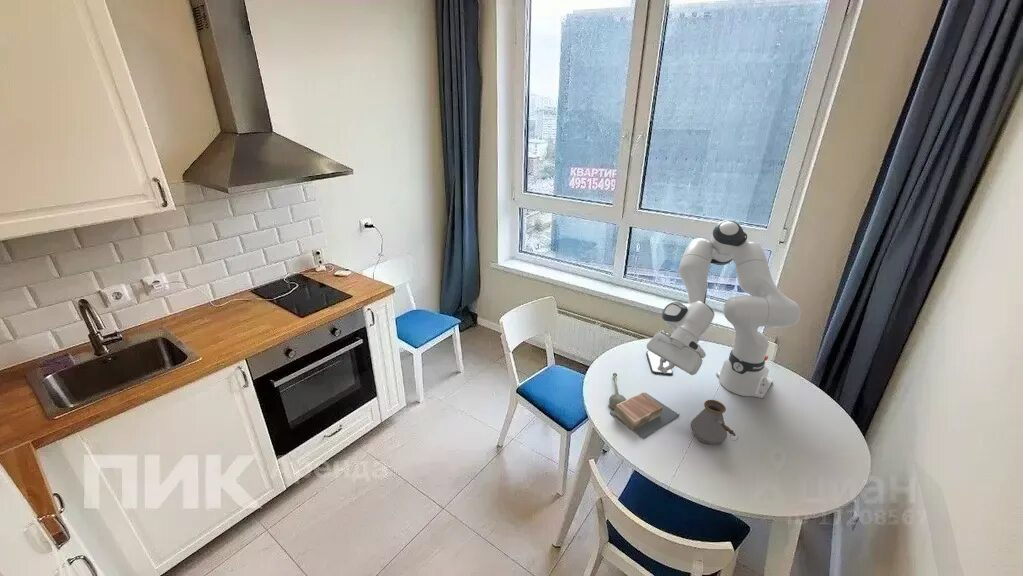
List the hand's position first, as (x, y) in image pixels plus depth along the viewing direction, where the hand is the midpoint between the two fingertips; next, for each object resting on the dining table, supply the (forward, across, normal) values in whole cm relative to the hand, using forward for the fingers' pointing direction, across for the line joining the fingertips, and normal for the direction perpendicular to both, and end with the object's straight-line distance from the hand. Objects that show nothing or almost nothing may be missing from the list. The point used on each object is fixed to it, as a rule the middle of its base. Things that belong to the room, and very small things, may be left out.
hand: (661, 371), depth 149 cm
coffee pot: (+12, +25, +9) cm, 29 cm away
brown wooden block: (+11, +2, +4) cm, 12 cm away
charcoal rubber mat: (+16, +2, +4) cm, 17 cm away
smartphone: (-5, -16, +26) cm, 31 cm away
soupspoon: (+16, -12, +4) cm, 20 cm away
